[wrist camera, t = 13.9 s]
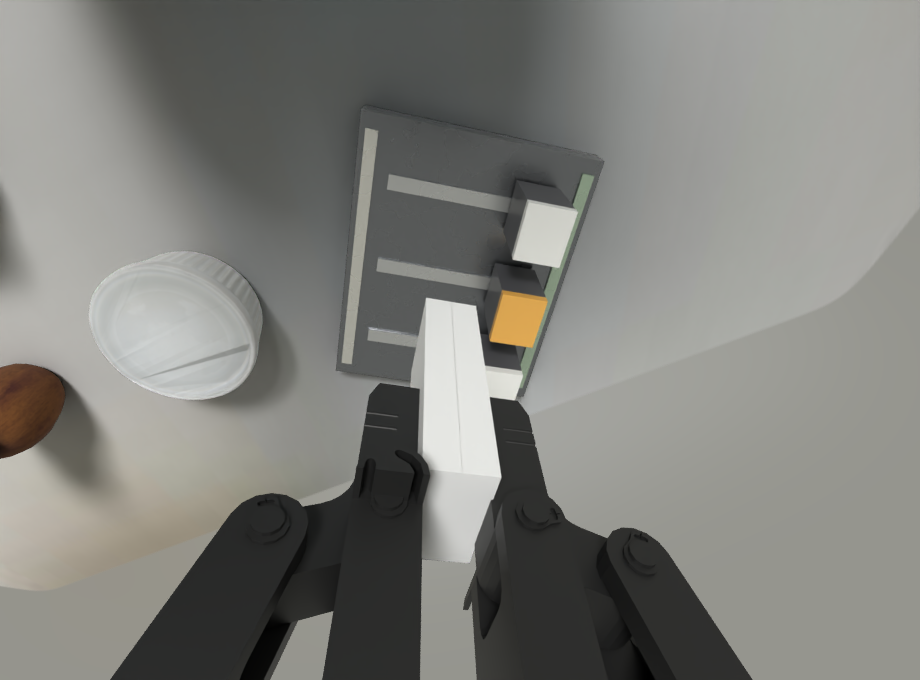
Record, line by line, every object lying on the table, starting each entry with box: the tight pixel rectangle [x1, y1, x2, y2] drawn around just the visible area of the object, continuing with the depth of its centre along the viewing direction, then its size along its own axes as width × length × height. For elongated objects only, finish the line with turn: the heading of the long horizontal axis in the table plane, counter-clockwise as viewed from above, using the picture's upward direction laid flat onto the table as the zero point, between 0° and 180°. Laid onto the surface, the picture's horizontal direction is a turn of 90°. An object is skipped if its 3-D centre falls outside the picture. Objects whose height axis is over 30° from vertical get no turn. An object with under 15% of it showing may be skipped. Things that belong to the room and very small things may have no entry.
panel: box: [336, 105, 604, 397], centre depth 38 cm, size 16×20×2 cm
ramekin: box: [88, 251, 263, 400], centre depth 37 cm, size 11×11×5 cm
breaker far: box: [480, 334, 523, 400], centre depth 38 cm, size 3×4×5 cm
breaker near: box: [503, 180, 578, 268], centre depth 32 cm, size 3×4×5 cm
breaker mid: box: [484, 263, 548, 348], centre depth 35 cm, size 3×4×5 cm
